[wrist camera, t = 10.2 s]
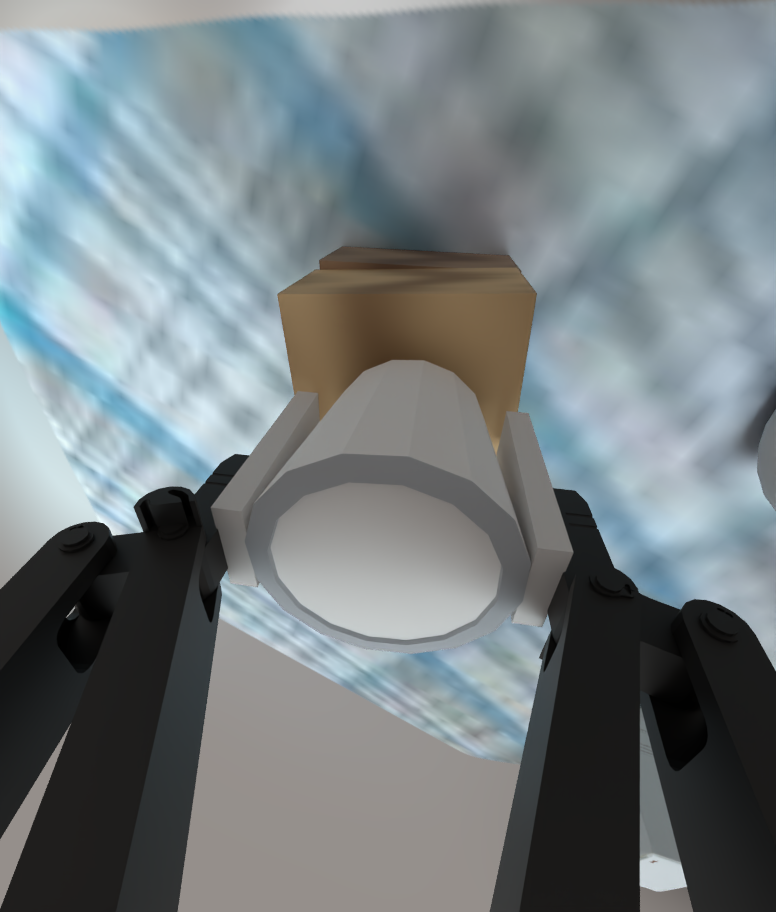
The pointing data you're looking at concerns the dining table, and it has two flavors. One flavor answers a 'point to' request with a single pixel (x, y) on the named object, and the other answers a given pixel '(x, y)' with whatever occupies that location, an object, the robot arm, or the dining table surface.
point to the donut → (768, 460)
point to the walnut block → (409, 259)
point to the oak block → (411, 329)
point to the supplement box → (655, 827)
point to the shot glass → (393, 518)
